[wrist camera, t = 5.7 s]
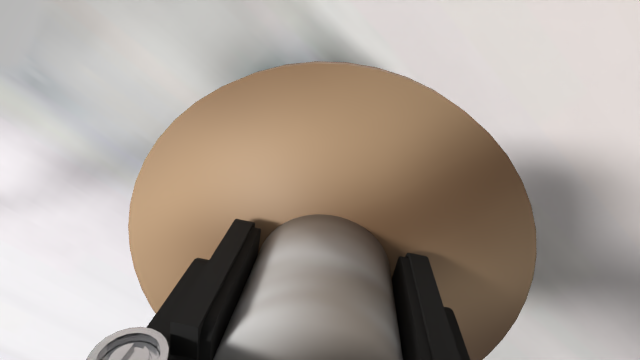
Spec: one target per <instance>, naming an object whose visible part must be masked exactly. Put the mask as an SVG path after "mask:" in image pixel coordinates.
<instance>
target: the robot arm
mask: <svg viewBox="0 0 640 360" xmlns="http://www.w3.org/2000/svg"><path fill="white" fill-rule="evenodd" d="M260 234H261V229H260V228H255V223H254V222H250V221H245V220H240V219H235V220H234V221H233V223H232V225H231V226H230V228H229V229H228V231H227V233H226V234H225V236H224V237H223V239H222V241H221V242H220V244H219V245H218V247H217V249H216V250H215V252H214V253H213V255H212V256H211V258H210V260H207V259H202V258H196V259H194V261H193V262H192V263H191V264H190V266H189V267H188V269H187V270H186V272H185V273H184V274H183V276H182V277H181V279H180V280H179V282H178V283H177V285H176V286H175V287H174V289H173V290H172V292H171V293H170V295H169V296H168V297H167V299H166V300H165V302H164V303H163V305H162V306H161V307H160V309H159V310H158V312H157V313H156V315H155V316H154V318H153V319H152V320H151V322H150V323H149V325H148V326H147V328H144V327H136V328H128V329H124V330H121V331H118V332H116V333H114V334H112V335H110V336H108V337H106V338H105V339H103V340H102V341H101V342H100V343H98V344H97V345H96V346H95V348H94V349H93V350H92V351H91V353H90V354H89V356H88V357H87V359H86V360H213V358H214V356H215V354H216V351H217V349H218V347H219V344H220V342H221V340H222V337H223V335H224V333H225V330H226V328H227V326H228V324H229V321H230V319H231V317H232V314H233V312H234V310H235V307H236V305H237V303H238V300H239V298H240V296H241V293H242V291H243V289H244V286H245V284H246V282H247V279H248V277H249V275H250V272H251V270H252V268H253V265H254V263H255V261H256V258H257V256H258V250H259V242H260ZM392 286H393V293H394V300H395V307H396V314H397V321H398V328H399V335H400V341H401V348H402V355H403V360H470V357H469V354H468V352H467V349H466V346H465V343H464V340H463V337H462V334H461V331H460V328H459V326H458V323H457V320H456V317H455V314H454V312H453V310H452V309H451V308H448V307H444V306H443V303H442V300H441V296H440V293H439V290H438V287H437V284H436V281H435V277H434V274H433V271H432V268H431V265H430V262H429V259H428V257H427V256H423V255H418V254H413V253H407V254H406V255H405V257H402V256H400V257H399V258H398V260H397V263H396V267H395V270H394V273H393V276H392Z"/></svg>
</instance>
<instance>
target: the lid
mask: <svg viewBox="0 0 640 360" xmlns="http://www.w3.org/2000/svg"><path fill="white" fill-rule="evenodd" d="M235 219H240V220H245V221H250V222H254V223H255V228H260V229H261V234H260V242H259V250H258V256H257V258H256V261H255V263H254V265H253V268H252V270H251V272H250V275H249V277H248V279H247V282H246V284H245V286H244V289H243V291H242V293H241V296H240V298H239V300H238V303H237V305H236V307H235V310H234V312H233V314H232V317H231V319H230V321H229V324H228V326H227V328H226V330H225V333H224V335H223V337H222V340H221V342H220V344H219V347H218V349H217V351H216V354H215V356H214V358H213V360H403V355H402V348H401V341H400V335H399V328H398V321H397V314H396V307H395V300H394V293H393V286H392V276H393V273H394V270H395V267H396V263H397V260H398V258H399V257H400V256H402V257H405V255H406V254H407V253H413V254H418V255H423V256H427V257H428V259H429V262H430V265H431V268H432V271H433V274H434V277H435V281H436V284H437V287H438V290H439V293H440V296H441V300H442V303H443V306H444V307H448V308H451V309H452V310H453V312H454V314H455V317H456V320H457V323H458V326H459V328H460V331H461V334H462V337H463V340H464V343H465V346H466V349H467V352H468V354H469V357H470V360H482V359H484V358H485V357H486V356H487V355H488V354H489V353H490V352H491V351H492V350H493V349H494V348H495V347H496V346H497V345H498V344H499V342H500V341H501V340H502V339H503V338H504V337H505V335H506V334H507V332H508V331H509V330H510V328H511V327H512V325H513V324H514V322H515V321H516V319H517V317H518V315H519V313H520V311H521V309H522V307H523V305H524V303H525V301H526V299H527V296H528V292H529V289H530V286H531V283H532V280H533V275H534V268H535V261H536V228H535V223H534V218H533V212H532V207H531V204H530V201H529V198H528V196H527V193H526V190H525V188H524V185H523V182H522V180H521V178H520V176H519V175H518V173H517V171H516V169H515V168H514V166H513V164H512V162H511V161H510V159H509V157H508V156H507V155H506V153H505V152H504V151H503V150H502V148H501V147H500V146H499V145H498V143H497V142H496V141H495V140H494V138H493V137H492V136H491V135H490V134H489V133H488V132H487V131H486V130H485V129H484V128H483V127H482V126H481V125H480V124H478V123H477V122H476V121H475V120H474V119H473V118H472V117H471V116H470V115H469V114H467V113H466V112H465V111H464V110H462V109H461V108H460V107H458V106H457V105H455V104H454V103H452V102H451V101H449V100H448V99H446V98H445V97H443V96H442V95H440V94H439V93H437V92H436V91H434V90H433V89H431V88H429V87H426V86H424V85H422V84H420V83H418V82H416V81H414V80H412V79H410V78H408V77H405V76H402V75H399V74H396V73H393V72H389V71H386V70H383V69H380V68H376V67H371V66H365V65H359V64H353V63H347V62H319V61H315V62H306V63H296V64H287V65H283V66H279V67H275V68H271V69H267V70H263V71H259V72H256V73H253V74H251V75H249V76H246V77H244V78H241V79H239V80H236V81H234V82H232V83H229V84H227V85H225V86H222V87H220V88H219V89H217V90H215V91H214V92H212V93H210V94H209V95H207V96H205V97H204V98H202V99H200V100H199V101H197V102H196V103H194V104H193V105H192V106H191V107H190V108H188V109H187V110H186V111H185V112H184V113H182V114H181V115H180V116H179V117H177V118H176V119H175V120H174V121H173V123H172V124H171V125H170V126H169V127H168V128H167V129H166V130H165V132H164V133H163V134H162V135H161V136H160V137H159V138H158V140H157V141H156V143H155V145H154V146H153V148H152V149H151V151H150V152H149V154H148V156H147V157H146V159H145V161H144V163H143V165H142V168H141V170H140V172H139V175H138V177H137V180H136V182H135V186H134V190H133V194H132V198H131V203H130V212H129V224H128V229H129V243H130V251H131V255H132V260H133V265H134V269H135V272H136V274H137V277H138V280H139V283H140V285H141V288H142V290H143V292H144V294H145V296H146V298H147V300H148V302H149V304H150V305H151V307H152V309H153V310H154V312H155V313H157V312H158V310H159V309H160V307H161V306H162V305H163V303H164V302H165V300H166V299H167V297H168V296H169V295H170V293H171V292H172V290H173V289H174V287H175V286H176V285H177V283H178V282H179V280H180V279H181V277H182V276H183V274H184V273H185V272H186V270H187V269H188V267H189V266H190V264H191V263H192V262H193V261H194V259H196V258H202V259H207V260H210V258H211V256H212V255H213V253H214V252H215V250H216V249H217V247H218V245H219V244H220V242H221V241H222V239H223V237H224V236H225V234H226V233H227V231H228V229H229V228H230V226H231V225H232V223H233V221H234V220H235Z"/></svg>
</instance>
